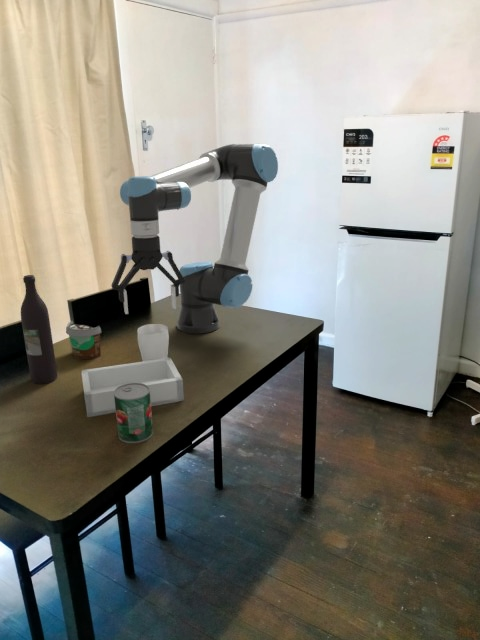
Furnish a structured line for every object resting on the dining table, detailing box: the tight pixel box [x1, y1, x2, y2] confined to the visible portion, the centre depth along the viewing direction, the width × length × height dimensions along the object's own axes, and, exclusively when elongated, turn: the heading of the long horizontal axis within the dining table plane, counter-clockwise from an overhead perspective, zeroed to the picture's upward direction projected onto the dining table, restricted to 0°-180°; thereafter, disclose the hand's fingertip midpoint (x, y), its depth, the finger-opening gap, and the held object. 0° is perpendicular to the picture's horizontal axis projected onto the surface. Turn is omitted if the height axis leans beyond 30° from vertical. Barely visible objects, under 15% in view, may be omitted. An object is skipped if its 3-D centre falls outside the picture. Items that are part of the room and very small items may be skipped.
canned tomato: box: [114, 383, 154, 444], centre depth 115 cm, size 8×8×11 cm
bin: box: [80, 357, 185, 418], centre depth 133 cm, size 24×15×6 cm, turn 109°
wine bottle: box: [20, 274, 58, 385], centre depth 139 cm, size 7×7×30 cm
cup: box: [137, 323, 170, 362], centre depth 149 cm, size 9×9×12 cm
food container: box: [65, 320, 102, 360], centre depth 158 cm, size 12×6×10 cm, turn 62°
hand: (150, 310), depth 145 cm, fingers open, 13 cm apart
